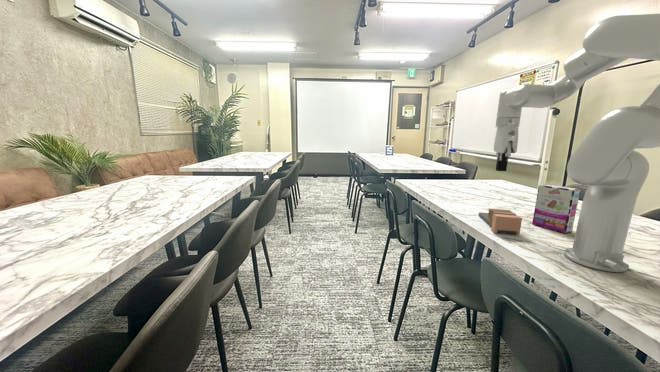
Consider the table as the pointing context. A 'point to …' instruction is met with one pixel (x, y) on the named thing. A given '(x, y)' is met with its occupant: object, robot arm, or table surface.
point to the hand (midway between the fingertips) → (500, 170)
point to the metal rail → (485, 217)
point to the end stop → (506, 224)
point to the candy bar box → (556, 207)
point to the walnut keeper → (498, 211)
